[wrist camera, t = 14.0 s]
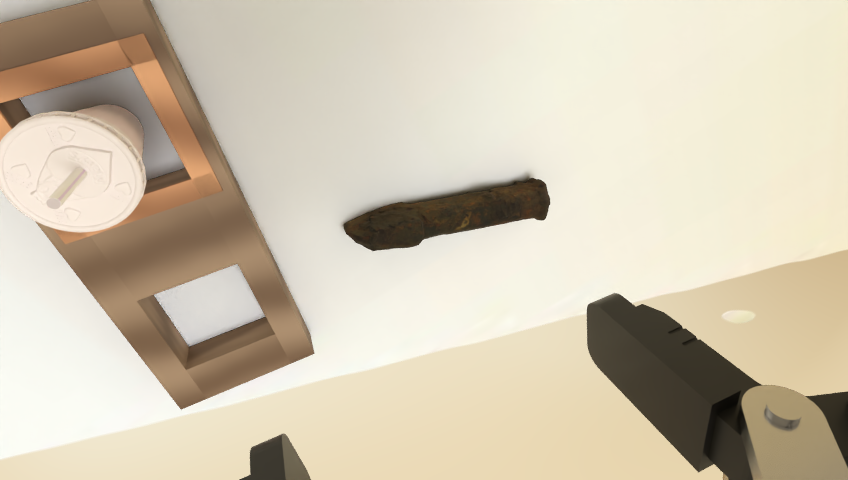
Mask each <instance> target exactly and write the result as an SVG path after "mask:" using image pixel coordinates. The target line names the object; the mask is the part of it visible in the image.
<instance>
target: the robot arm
mask: <svg viewBox="0 0 848 480" xmlns="http://www.w3.org/2000/svg"><path fill="white" fill-rule="evenodd" d="M587 344H588V350H589V353H590V355H591V357H592V359H593V361H594V363H595V364H596V365H597V367H598V368H599V369H600V370H601V371H602V372H603V373H604V374H605V375H606V376H607V377H608V378H609V379H610V380H611V382H613V384H614V385H615V386H616V387H617V388H618V389H619V390H620V391H621V392H622V393H623V394H624V395H625V396H626V397H627V398H628V399H629V400H630V401H631V402H632V403H633V404H634V406H635V407H636V408H637V409H638V410H639V411H640V412H641V413H642V414H643V415H644V416H645V417H646V418H647V419H648V420H649V421H650V422H651V423H652V424H653V425H654V426H655V427H656V428H657V429H658V430H659V432H660V433H661V434H662V435H663V436H664V437H665V438H666V439H667V440H668V441H669V442H670V443H671V444H672V445H673V446H674V447H675V448H676V449H677V450H678V451H679V452H680V453H681V455H682V456H684V458H685V459H686V460H687V461H688V462H689V463H690V464H691V465H692V466H693V467H694V468H695V469H696V470H697V471H698V472H700V471H701V470H704V469H705V468H707V467H709V466H711V465H713V464H715V465H716V466H717V467H718V468H719V469H720V470H721V471H722V472H723V480H848V392H840V393H832V394H824V395H816V396H804V395H802V394H800V393H798V392H796V391H794V390H791V389H788V388H785V387H780V386H775V385H761V384H759V383H757V382H756V381H754V380H753V379H752V378H750V377H749V376H748V375H746V374H745V373H744V372H742V371H741V370H740V369H738V368H737V367H736V366H734V365H733V364H732V363H731V362H729V361H728V360H727V359H725V358H724V357H722V356H721V355H720V354H719V353H717V352H716V351H715V350H713V349H712V348H711V347H709V346H708V345H707V344H705V343H704V342H703V341H701V340H697V338H696V336H695V335H693V334H692V333H691V332H689V331H688V330H687V329H683V328H682V326H681V325H680V324H679V323H677V322H676V321H675V320H673V319H672V318H671V317H669V316H668V315H667V314H665V313H664V312H661V311H659V310H656V309H654V308H651V307H649V306H646V305H643V304H641V305H639V306H637V307H635V306H634V305H633V304H632V303H630V302H629V301H628V300H626V299H625V298H624V297H623V296H621V295H619V294H616V293H614V294H611V295H609V296H607V297H604V298H602V299H600V300H597V301H595V302H593V303H590V304H589V305H588V307H587ZM250 472H251V475H249V476H247V477H244V478H242V479H240V480H311V479H310V477H309V474H308V472H307V470H306V468H305V466H304V465H303V463H302V461H301V459H300V458H299V456H298V454H297V452H296V451H295V449H294V447H293V446H292V444H291V442H290V441H289V439H288V437H287V436H286V435H285V434H281V435H279V436H277V437H274V438H272V439H270V440H268V441H265V442H263V443H260V444H258V445H256V446H253V447H252V448H251V451H250Z"/></svg>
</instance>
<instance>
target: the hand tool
mask: <svg viewBox="0 0 848 480" xmlns="http://www.w3.org/2000/svg"><path fill="white" fill-rule="evenodd" d="M549 205H550V198H549V195H548V191H547V187H546V184H545V182H543V181H541V180H539V179H538V180H536V179H534V178H530V179H529V180H528V181H527V182H526V183H522V182H515V183H514V185H512V186H507V187H497V188H493V189H490V190H487V191H481V192H475V193H472V192H467V193H466V194H462V195H458V196H451V197H447V198H442V199H436V200H431V201H424V202H418V203H403V202H400V203H395V204H391V205H388V206H384V207H381V208H379V209H376V210H374V211H371V212H369V213H366V214H364V215H362V216H359V217H357V218H355V219H354V220H352V221H349V222H347V223H346V224H345V225H344V230H345V232H346V234H347V235H349V237H351V238H352V239H353V240H354V241H355V242H356V243H358V244H361V245H363V246H364V247H366V248H368V249H370V250H372V251H376V250H385V249H392V248H408V247H413V246H417V245H419V244H420V243H421V241H422V240H423V239H427V238H430V237H434V236H438V235H443V234H452V233H457V232H462V231H469V230H474V229H479V228H484V227H489V226H494V225H499V224H505V223H509V222H513V221H519V220H523V219H531V218H535V219H537V220H544V219H545V218H546V216H547V212H548V208H549Z"/></svg>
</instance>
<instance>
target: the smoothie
mask: <svg viewBox="0 0 848 480" xmlns="http://www.w3.org/2000/svg"><path fill="white" fill-rule="evenodd" d="M143 145H144V130H143V127H142V125H141V123H140V121H139V120H138V119H137V117H136V116H135V115H133V114H132V113H131V112H130V111H128V110H126V109H124V108H122V107H120V106H116V105H110V104H104V105H98V106H94V107H90V108H86V109H82V110H78V111H75V112H63V111H54V112H47V113H41V114H36V115H34V116H32V117H30V118H27V119H25V120H23V121H21V122H19V123H18V124H17V125H16V126H15V127H14V128H13V129H11V130H10V131H9V132H8V133H7V134H6V135H5V136H4V137H3V139H2V140H1V142H0V188H1V190H2V192H3V193H4V195H5V196H6V198H7V199H8V200H9V201H10V202H11V203H12V204H13V205H14V207H16V208H17V209H18V210H19V211H20V212H22V213H23V214H24V215H26V216H27V217H29V218H31V219H32V220H34V221H36V222H38V223H40V224H43V225H45V226H48V227H51V228H54V229H58V230H63V231H69V232H93V231H99V230H103V229H106V228H109V227H112V226H114V225H116V224H118V223H120V222H121V221H123V220H124V219H126V218H127V217H128V216H129V215H130V214H131V213H132V212H133V211H134V209H135V208H136V207H137V205H138V203H139V202H140V200H141V198H142V197H143V195H144V190H145V186H146V173H145V166H144V164H143V162H142V155H143Z"/></svg>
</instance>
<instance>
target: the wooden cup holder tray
mask: <svg viewBox="0 0 848 480" xmlns="http://www.w3.org/2000/svg"><path fill="white" fill-rule="evenodd" d="M128 67H132V69H133V71H134V73H135V75H136V77H137V78H138V80H139V82H140V84H141V86H142V88H143V90H144V92H145V93H146V95H147V97H148V99H149V101H150V103H151V105H152V106H153V108H154V110H155V112H156V114H157V116H158V118H159V119H160V121H161V123H162V125H163V127H164V129H165V131H166V133H167V134H168V136H169V138H170V140H171V142H172V144H173V146H174V147H175V149H176V151H177V153H178V155H179V157H180V159H181V160H182V162H183V164H184V166H185V168H184V169H181V170H178V171H175V172H172V173H169V174H166V175H163V176H160V177H157V178H153V179H150V180H147V181H146V186H145V190H144V195H143V197H142V198H141V200H140V202H139V203H138V205H137V207H136V208H135V209H134V211H133V212H132V213H131V214H130V215H129V216H128V217H127V218H126V219H124V220H123V221H121V222H120V223H118V224H116V225H114V226H112V227H109V228H106V229H103V230H99V231H93V232H69V231H63V230H58V229H54V228H51V227H48V226H45V225H43V224H40V223H38V222H36V221H35V222H36V223H37V224H38V225H39V227H40V228H41V229H42V231H43V232H44V233H45V235H46V236H47V237H48V238H49V240H50V241H51V242H52V244H53V245H54V246H55V247H56V249H57V250H58V251H59V253H60V254H61V255H62V256H63V258H64V259H65V260H66V262H67V263H68V264H69V265H70V267H71V268H72V269H73V271H74V272H75V273H76V275H77V276H78V277H79V278H80V280H81V281H82V282H83V284H84V285H85V286H86V287H87V289H88V290H89V291H90V293H91V294H92V295H93V296H94V298H95V299H96V300H97V302H98V303H99V304H100V306H101V307H102V308H103V309H104V311H105V312H106V313H107V315H108V316H109V317H110V318H111V320H112V321H113V322H114V324H115V325H116V326H117V327H118V329H119V330H120V331H121V333H122V334H123V335H124V336H125V338H126V339H127V340H128V342H129V343H130V344H131V346H132V347H133V348H134V349H135V351H136V352H137V353H138V355H139V356H140V357H141V358H142V360H143V361H144V362H145V364H146V365H147V366H148V367H149V369H150V370H151V371H152V373H153V374H154V375H155V377H156V378H157V379H158V380H159V382H160V383H161V384H162V386H163V387H164V388H165V389H166V391H167V392H168V393H169V395H170V396H171V397H172V398H173V400H174V401H175V402H176V404H177V405H178V406H179V407H180V409H183V408H186V407H188V406H191V405H193V404H195V403H198V402H200V401H203V400H205V399H207V398H210V397H212V396H214V395H217V394H219V393H222V392H224V391H226V390H229V389H231V388H234V387H236V386H238V385H241V384H243V383H246V382H248V381H250V380H253V379H255V378H257V377H260V376H262V375H265V374H267V373H269V372H272V371H274V370H277V369H279V368H281V367H284V366H286V365H288V364H291V363H293V362H296V361H298V360H300V359H303V358H305V357H308V356H310V355H312V354H314V350H313V345H312V341H311V336H310V333H309V331H308V329H307V327H306V324H305V322H304V320H303V318H302V316H301V314H300V312H299V310H298V308H297V306H296V304H295V302H294V299H293V297H292V295H291V293H290V291H289V289H288V287H287V285H286V283H285V281H284V279H283V277H282V274H281V272H280V270H279V268H278V266H277V264H276V262H275V260H274V258H273V256H272V254H271V252H270V250H269V247H268V245H267V243H266V241H265V239H264V237H263V235H262V233H261V231H260V229H259V227H258V225H257V222H256V220H255V218H254V216H253V214H252V212H251V210H250V208H249V206H248V204H247V202H246V200H245V197H244V195H243V193H242V191H241V189H240V187H239V185H238V183H237V181H236V179H235V177H234V175H233V173H232V170H231V168H230V166H229V164H228V162H227V160H226V158H225V156H224V154H223V152H222V150H221V148H220V145H219V143H218V141H217V139H216V137H215V135H214V133H213V131H212V129H211V127H210V125H209V123H208V120H207V118H206V116H205V114H204V112H203V110H202V108H201V106H200V104H199V102H198V100H197V98H196V96H195V93H194V91H193V89H192V87H191V85H190V83H189V81H188V79H187V77H186V75H185V73H184V71H183V68H182V66H181V64H180V62H179V60H178V58H177V56H176V54H175V52H174V50H173V48H172V46H171V43H170V41H169V39H168V37H167V35H166V33H165V31H164V29H163V27H162V25H161V23H160V21H159V19H158V16H157V14H156V12H155V10H154V8H153V6H152V4H151V2H150V0H91V1H87V2H83V3H79V4H75V5H71V6H67V7H63V8H59V9H55V10H51V11H47V12H43V13H39V14H35V15H31V16H27V17H23V18H19V19H15V20H11V21H7V22H3V23H0V142H1V140H2V139H3V137H4V136H5V135H6V134H7V133H8V132H9V131H10V130H11V129H13V128H14V127H15V126H16V125H17V124H18V123H19V122H21V121H23V120H25V119H27V118H30V117H31V116H30V114H29V113H28V111H27V110H26V108H25V107H24V105H23V104H22V103H21V101H20V100H19V98H20V97H24V96H28V95H31V94H35V93H38V92H42V91H45V90H49V89H53V88H56V87H60V86H63V85H67V84H70V83H74V82H78V81H81V80H85V79H88V78H92V77H96V76H99V75H103V74H106V73H110V72H113V71H117V70H121V69H124V68H128ZM235 264H238V266H239V267H240V269H241V271H242V273H243V275H244V277H245V279H246V280H247V282H248V284H249V286H250V288H251V290H252V292H253V294H254V295H255V297H256V299H257V301H258V303H259V305H260V307H261V309H262V310H263V312H264V314H265V316H266V317H264V318H262V319H259V320H257V321H254V322H252V323H249V324H247V325H244V326H241V327H239V328H236V329H234V330H231V331H229V332H226V333H224V334H221V335H219V336H216V337H214V338H211V339H209V340H206V341H204V342H201V343H199V344H196V345H193V346H191V347H189V346H188V345H187V344H186V342H185V341H184V339H183V338H182V336H181V335H180V333H179V332H178V330H177V329H176V327H175V326H174V325H173V323H172V322H171V320H170V319H169V317H168V316H167V314H166V313H165V311H164V310H163V308H162V307H161V306H160V304H159V303H158V301H157V300H156V298H155V297H154V294H157V293H159V292H162V291H165V290H167V289H170V288H173V287H176V286H178V285H181V284H184V283H186V282H189V281H192V280H194V279H197V278H200V277H203V276H205V275H208V274H211V273H213V272H216V271H219V270H221V269H224V268H227V267H230V266H232V265H235Z"/></svg>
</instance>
